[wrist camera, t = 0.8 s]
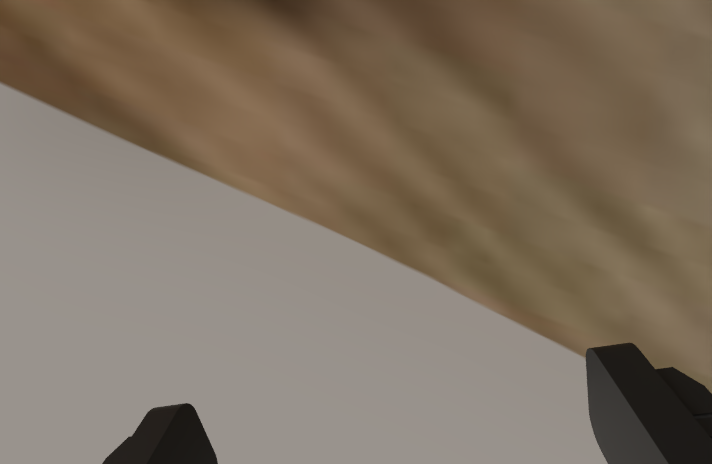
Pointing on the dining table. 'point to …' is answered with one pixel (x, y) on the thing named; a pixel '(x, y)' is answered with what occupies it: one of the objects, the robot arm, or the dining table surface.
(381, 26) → the dining table surface
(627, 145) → the dining table surface
